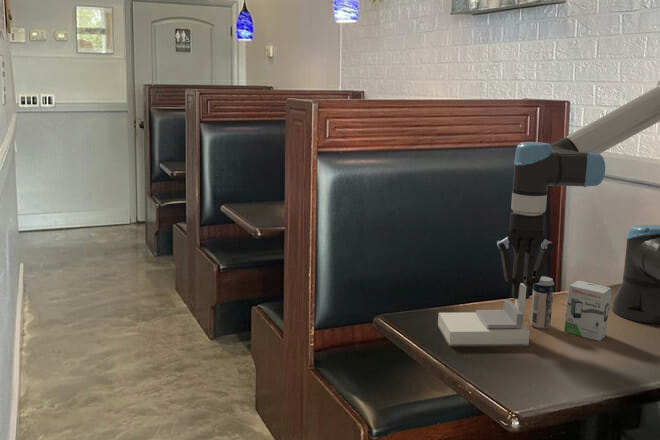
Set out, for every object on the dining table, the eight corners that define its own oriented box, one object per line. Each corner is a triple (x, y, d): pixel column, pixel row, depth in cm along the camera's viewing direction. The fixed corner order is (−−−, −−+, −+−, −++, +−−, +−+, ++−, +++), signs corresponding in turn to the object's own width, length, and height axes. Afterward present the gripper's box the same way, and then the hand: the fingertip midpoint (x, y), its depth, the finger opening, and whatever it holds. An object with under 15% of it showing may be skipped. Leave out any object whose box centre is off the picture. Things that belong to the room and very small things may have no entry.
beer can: (551, 330, 164) (555, 282, 161) (530, 328, 165) (534, 280, 162) (549, 323, 169) (553, 276, 166) (529, 321, 169) (533, 274, 167)
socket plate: (511, 325, 166) (512, 312, 166) (528, 345, 155) (529, 331, 154) (437, 326, 165) (438, 312, 164) (449, 346, 154) (450, 331, 153)
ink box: (562, 331, 163) (567, 284, 161) (570, 326, 167) (575, 279, 164) (599, 341, 158) (605, 292, 155) (607, 335, 162) (612, 287, 159)
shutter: (508, 312, 164) (509, 299, 163) (522, 327, 155) (523, 314, 154) (475, 313, 164) (476, 299, 163) (487, 328, 154) (488, 314, 154)
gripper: (550, 208, 158) (540, 306, 163) (494, 208, 157) (486, 306, 162) (562, 215, 151) (552, 317, 156) (504, 215, 150) (496, 317, 155)
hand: (519, 311), depth 159 cm, fingers closed
